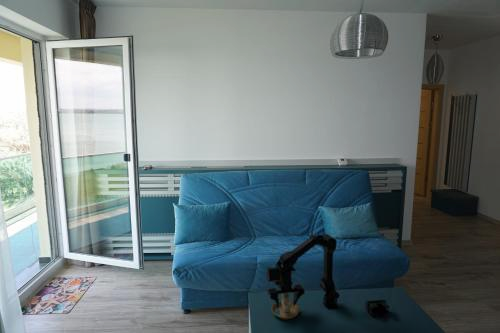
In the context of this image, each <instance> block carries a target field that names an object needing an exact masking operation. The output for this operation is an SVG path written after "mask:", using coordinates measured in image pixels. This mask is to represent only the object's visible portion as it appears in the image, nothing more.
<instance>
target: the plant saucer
mask: <svg viewBox="0 0 500 333" xmlns="http://www.w3.org/2000/svg"><path fill="white" fill-rule="evenodd" d="M279 308H280V309H279ZM279 308H277V306H276V303H275V302H274V304H273V305H272V306H271V312H272V313H273V315H274V316H276V317H277V318H278V319H281V320H292V319H294V318H295V317H297V316H298V315H299V313H300V311H301V310H300V307H299V306H298V305H297V303H296V304H295V306H294V305H293V302H292V301H290V311H288V312H284V310H283V308H282V301H279ZM281 308H282V309H281ZM277 309H279V310H280V315H281V316H280V315H279V314H278V315H279V316H277V315H276V314H275V311H276V310H277Z"/></svg>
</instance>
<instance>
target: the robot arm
mask: <svg viewBox="0 0 500 333" xmlns="http://www.w3.org/2000/svg"><path fill="white" fill-rule="evenodd" d="M337 245H338V242H337V239H335V238H334V237H332V236H331V235H330V234H327V233H325V234H311V235H310V236H309V237H308V238H307V239H306V240H304V241H303V242H302V243H301V244H299V245H298V246H296V247H295V248H294V249H293V250H290V251H285V252H284V253H283V254H281V255H280V256H279V259H278V261H277V262H276V263H275V267H267V270H266V271H265V277H266V281H267V283H270V282H273V284H274V285H275V286H278V289H279V290H278V289H276V288H275V287H271V288H268V289H267V296H268V297H269V298H270V299H271V300H273V301H274V304H275V303H276V306H277V308H279V302H280V300H279V299H280V298H279V295H282V294H285V293H288V294H290V293H292V294H293V302H292V303H293V305H294V306H295V304H296V305H297V302H298V301H299V299H300V298H301V296H303V295H305V293H306V292H305V288H304V287H303V286H302V285H301V284H294V283H293V276H292V275H293V273H292V272H296V271H297V269H296V268H295V267H294V266H295V265H296V263H297V261H298V259H299V258H301V257H302V256H303V255H304V254H306V253H307V252H309V250H311V249H313V248H314V247H315V246H321V247H322V250H323V277H322V278H319V284H318V285H319V287H320V289H321V291H322V292H324V296H323V301H322V304H323V305H324V307H325V308H327V310H330V309H331V310H332V309H336V308H337V309H338V308H340V307H339V305H338V299H339V298H340V293H339V292H338V291H337V290H336V284H335V282H334V281H335V280H334V279H333V278H334V275H333V274H334V273H333V271H334V253H335V251H336V250H337ZM293 284H294V285H293ZM292 285H293V286H292Z"/></svg>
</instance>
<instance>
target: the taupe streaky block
mask: <svg viewBox="0 0 500 333" xmlns="http://www.w3.org/2000/svg"><path fill="white" fill-rule="evenodd" d="M281 302H282V308H283V310H284V312H288V311H290V302H291V295H290V293H285V294H281Z"/></svg>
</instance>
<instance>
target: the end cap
mask: <svg viewBox="0 0 500 333" xmlns="http://www.w3.org/2000/svg"><path fill="white" fill-rule="evenodd" d="M364 305H365V309H366V312H367V313H368V315H369V316H370V317H371V318H385V317H386V318H387V317H389V314H390V311H389V309H390V306H389V304H388V303H387V300H386V299H385V298H383V299H372V300H369V299H368V300H366V301H365V304H364Z"/></svg>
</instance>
